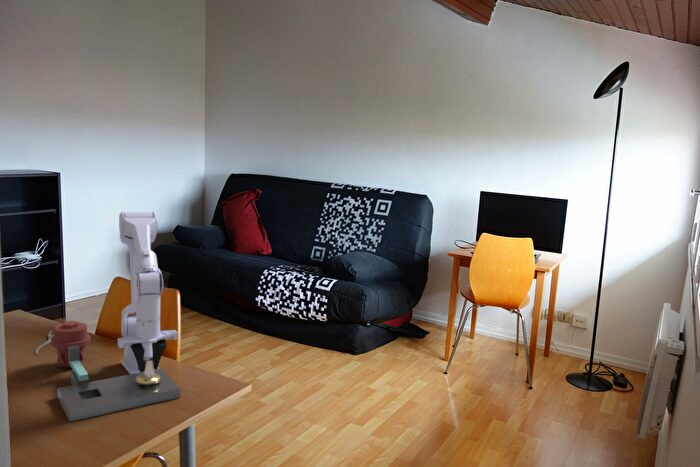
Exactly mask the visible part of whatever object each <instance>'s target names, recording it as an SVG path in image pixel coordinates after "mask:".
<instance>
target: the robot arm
mask: <svg viewBox="0 0 700 467" xmlns="http://www.w3.org/2000/svg"><path fill="white" fill-rule="evenodd" d="M118 217H119V218H118V229H119V239H120V242H121V243H122V244H125V245H126V246H127V248H128V252H129V265H130V266H129V268H130V269H129V270H130V290H131V291H130V292H131V296H130V297H131V303H130V304H128V305H127V306H125V307H124V308H123V309H122V311H121V319H120V320H121V321H120V327H121V328H120V329H121V336H122V337H119V338H117V347H118V348H119V349H123V348H124V349H123V351H124V352H123V353H124V356H123V360H121V361H120V364H121V365H122V366H123V367H124V369H125V370H126V371H127V372H128V375H130V374H135V373H141V372H143V371H144V357H153V358H154V370H157V369H160V366H159V364H160V361H161V359H162V356H163V354H164V352H165V350H166V348H167V347H168V346H167V345H168V343H167V340H168V341H169V340H178V331H176V329H171V330H170V329H169V330H161V295H162V294H163V291H164V279H163V274H162V271H161V269H160V268H159V267H158V266H159V265H158V258H157V254H156V253H155V252H154V251H153V250H152V249H151V246H152V244H153V243H154V242H155V239H156V237H157V232H158V227H159V223H158V222H159V221H158V219H159V218H158V214H157V213H156V211H151V212H144V211H141V212H134V211H133V212H130V211H121V212H120V213H119V216H118Z"/></svg>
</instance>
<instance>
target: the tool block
mask: <svg viewBox="0 0 700 467" xmlns="http://www.w3.org/2000/svg"><path fill="white" fill-rule="evenodd" d="M154 373H156V374H159V375H160V381H159V382H157V383H155V384H154V386H149V387H144V388H142V385H141V384H138V383H136V377H137V376H138V375H140V374H142V372H141V373H135V374H126V375H120V376H116V377H115V376H114V377H110V378H105V379H99V380H94V381H90V380H91V379H90V377H89V376H88V380H82V381H79V379H78V377H77V376H76V374H75V372H74V371H73V370H70V384H71V385H67V386H61V387H57V389H56V390H57V393H56V394H57V399H58V402H59V404H60V405H61V408H62V409H63V411H64V413H65V415H66V418H67V419H68V421H69V423H70V422H71V423H72V422H76V421H81V420H85V419H90V418H94V417H99V416H103V415H107V414H111V413H117V412H122V411H126V410H131V409H133V408H139V407H143V406H149V405H153V404H158V403H162V402H167V401H172V400H176V399H180V398H181V387H180V386H179V385H178V384H177V383H176V381H174V380H173V379H172V377H170V375H169V374H168V373H166V371H165V370H164V369H163V368H159V369H157V370H154Z"/></svg>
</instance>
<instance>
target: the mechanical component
mask: <svg viewBox="0 0 700 467" xmlns="http://www.w3.org/2000/svg"><path fill="white" fill-rule="evenodd" d="M53 335H54V336H53V337H52V338H51V342H50V345H51V346H52V347H53V348H56V354H57V360H56V361H57V363H58V364H57V365H58V367H59V368H72V367H71V366H70V364H69V359H68V346H75V345H78V346H79V347H80V360H79V361H80V362H81V363H82V362H84V361H85V360H86V353H85V350H86V349H85V348H86V346H87V345H89V344H90V343H91V342H92V341H91V340H92V339H91V335H90V333H88V325H87V324H86V323H84V322H81V321H76V320H67V321H64V322H63V323H59V324H56V325H54V328H53Z"/></svg>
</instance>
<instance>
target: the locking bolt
mask: <svg viewBox="0 0 700 467" xmlns="http://www.w3.org/2000/svg"><path fill="white" fill-rule="evenodd" d="M68 359H69V364H70V366H71V367H70V368H71V369H72V371H74V372H75V374H76V376H77V377H78V379H79V381H82V380H88V377H89V373H88V372H87V370H86V369H85V367H84V366H83V364H82V362H80V361H79V360H80V347H79V346H78V345H75V346H68Z"/></svg>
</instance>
